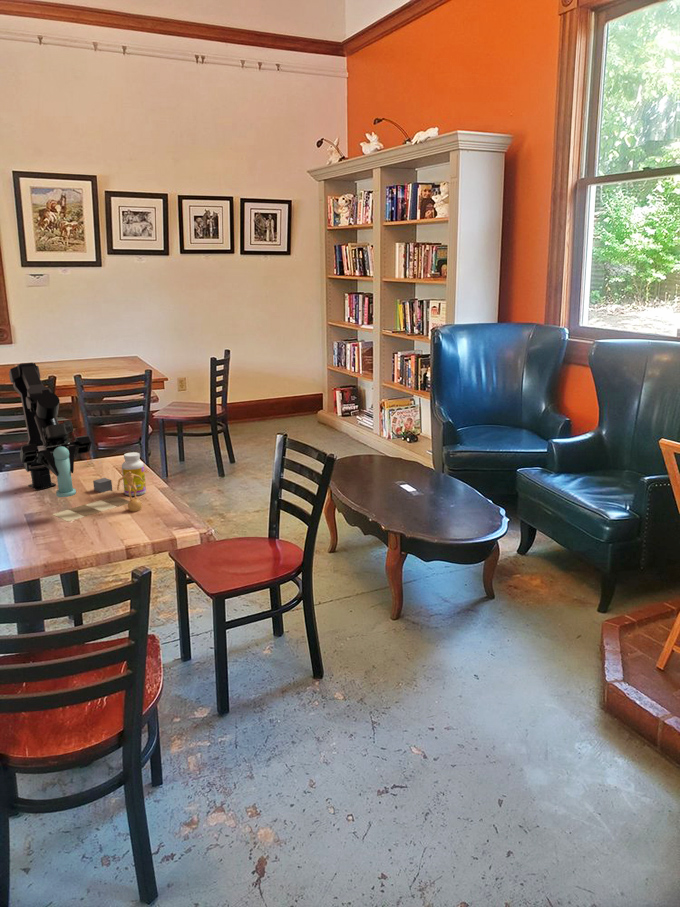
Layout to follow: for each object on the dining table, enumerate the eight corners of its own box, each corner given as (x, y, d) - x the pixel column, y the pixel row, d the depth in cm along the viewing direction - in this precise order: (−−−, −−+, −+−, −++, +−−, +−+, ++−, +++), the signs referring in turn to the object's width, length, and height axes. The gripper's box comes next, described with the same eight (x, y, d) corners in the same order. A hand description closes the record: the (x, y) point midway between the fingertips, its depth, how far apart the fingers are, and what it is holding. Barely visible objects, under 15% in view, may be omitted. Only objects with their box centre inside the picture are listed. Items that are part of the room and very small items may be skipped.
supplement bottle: (147, 495, 214) (143, 455, 211) (125, 497, 212) (120, 458, 209) (145, 488, 220) (141, 450, 217) (124, 491, 218) (120, 452, 215)
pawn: (53, 494, 194) (46, 447, 190) (70, 490, 198) (64, 443, 194) (62, 498, 191) (56, 450, 187) (79, 493, 194) (73, 446, 191)
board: (50, 516, 197) (50, 514, 197) (115, 497, 212) (115, 495, 212) (68, 524, 191) (67, 522, 191) (134, 504, 206) (133, 502, 206)
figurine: (123, 516, 196) (119, 477, 193) (117, 511, 201) (112, 472, 198) (151, 510, 201) (148, 471, 197) (144, 505, 205) (141, 467, 202)
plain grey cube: (94, 492, 218) (93, 480, 217) (105, 489, 221) (104, 477, 220) (101, 495, 215) (99, 483, 214) (112, 491, 218) (111, 480, 217)
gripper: (16, 417, 186) (32, 465, 180) (86, 407, 196) (103, 452, 191) (13, 439, 194) (28, 486, 188) (80, 429, 205) (96, 473, 199)
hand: (65, 473), depth 191 cm, fingers closed on pawn, 4 cm apart
